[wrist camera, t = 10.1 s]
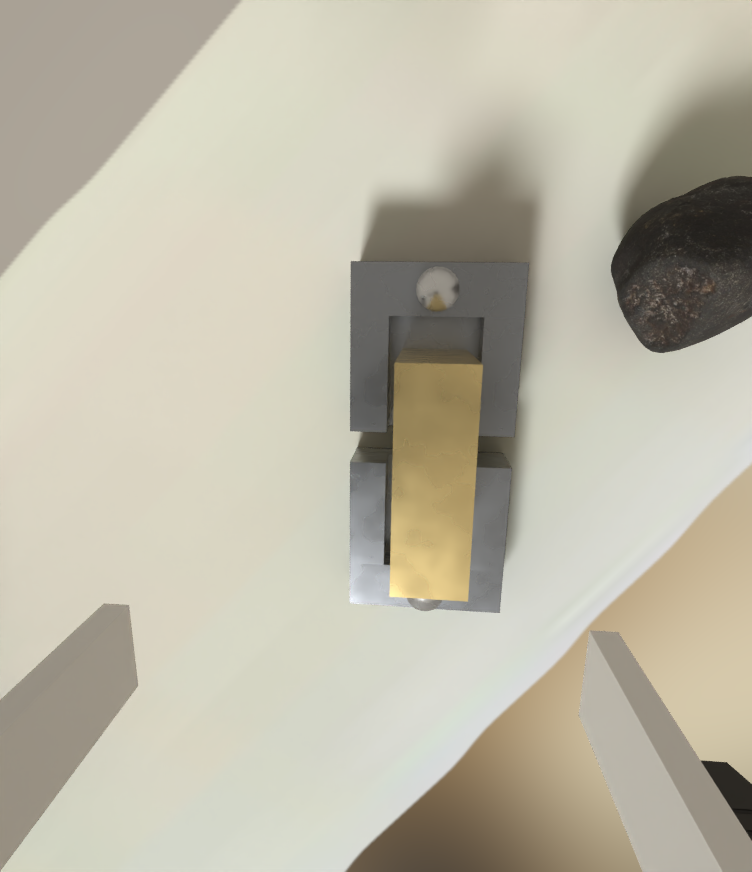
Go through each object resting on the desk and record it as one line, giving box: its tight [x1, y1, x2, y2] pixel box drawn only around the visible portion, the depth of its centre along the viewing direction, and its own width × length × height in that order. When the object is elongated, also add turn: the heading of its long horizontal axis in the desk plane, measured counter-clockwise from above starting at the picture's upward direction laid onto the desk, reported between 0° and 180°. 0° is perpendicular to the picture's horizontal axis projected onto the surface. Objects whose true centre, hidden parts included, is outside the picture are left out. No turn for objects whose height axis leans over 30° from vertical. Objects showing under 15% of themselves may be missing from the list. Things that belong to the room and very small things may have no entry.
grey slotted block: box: [350, 261, 529, 613], centre depth 33 cm, size 10×22×4 cm, turn 179°
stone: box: [611, 176, 752, 353], centre depth 26 cm, size 8×7×10 cm
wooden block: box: [390, 348, 483, 602], centre depth 29 cm, size 4×12×9 cm, turn 0°
